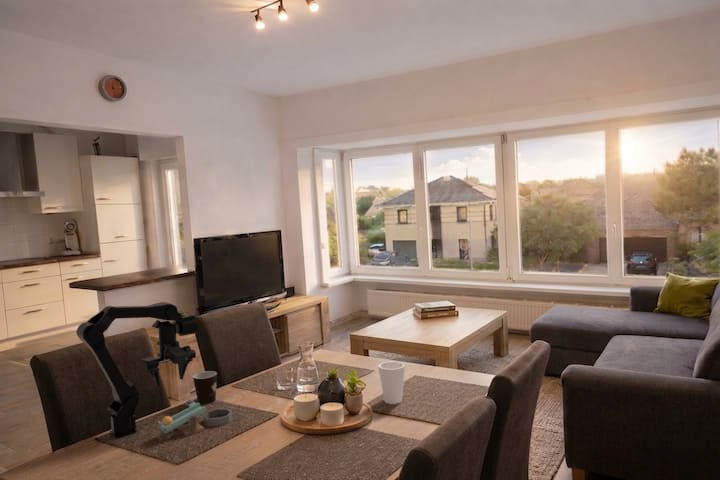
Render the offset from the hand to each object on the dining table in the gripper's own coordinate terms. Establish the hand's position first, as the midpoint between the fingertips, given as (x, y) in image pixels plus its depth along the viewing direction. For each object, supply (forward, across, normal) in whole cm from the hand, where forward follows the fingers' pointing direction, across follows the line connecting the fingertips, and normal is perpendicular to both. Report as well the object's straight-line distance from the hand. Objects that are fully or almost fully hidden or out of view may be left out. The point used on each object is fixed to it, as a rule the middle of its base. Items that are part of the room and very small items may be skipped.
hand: (169, 382), depth 185 cm
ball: (+7, -10, -14) cm, 18 cm away
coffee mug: (+12, +18, +2) cm, 21 cm away
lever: (+8, -4, -11) cm, 14 cm away
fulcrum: (+12, -6, -15) cm, 20 cm away
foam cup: (+10, +53, -58) cm, 79 cm away
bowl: (+12, +7, -17) cm, 22 cm away
